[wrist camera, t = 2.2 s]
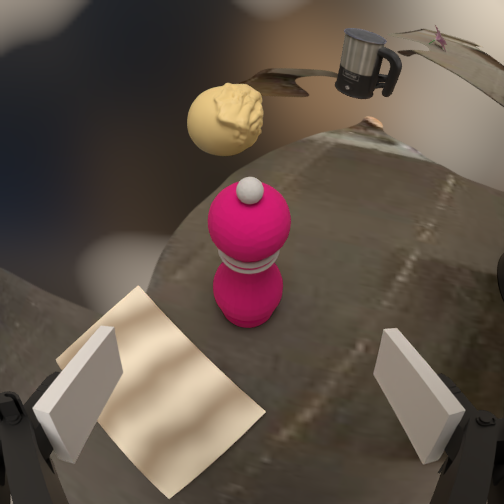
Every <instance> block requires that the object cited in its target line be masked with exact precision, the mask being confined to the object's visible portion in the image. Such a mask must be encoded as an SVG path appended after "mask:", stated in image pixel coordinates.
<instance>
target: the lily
mask: <svg viewBox="0 0 504 504" xmlns="http://www.w3.org/2000/svg"><path fill="white" fill-rule="evenodd" d="M435 26H436V25H435ZM436 29H437V33H438V34H437V33H435V34H436V39H435V40H437V41H438V42H439V43H441V45H442V47H444V45H447V43H446V41H445V40H444V38H443V37H441V34H440V31H439V30H438V28H437V27H436ZM435 40H433V41H435ZM433 41H432V42H433ZM432 42H430V43H432ZM430 43H429V44H430ZM444 49H445V47H444ZM445 52H446V50H445Z"/></svg>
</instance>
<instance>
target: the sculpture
mask: <svg viewBox="0 0 504 504" xmlns="http://www.w3.org/2000/svg"><path fill="white" fill-rule="evenodd" d="M261 103H262V97H261V94H260V93H259V92H258V91H255V90H254V89H253V88H252V87H250V86H248V85H246V84H234V85H233V84H230V83H226V84H225V85H224V86H220V87H215V88H211V89H209V90H207V91H205V92H203V93H202V94H200V95H199V96H198V97H197V98H196V99H195V101H194V102H193V104H192V106H191V108H190V110H189V114H188V121H187V125H188V131H189V135H190V137H191V139H192V140H193V142H194V143H195V145H196V146H197V147H198V148H200V149H201V150H202V151H204V152H206V153H209V154H212V155H216V156H233V155H236V154H239V153H241V152H243V151H244V150H246V149H247V148H249V147H251V146H253V144H254V143H255V142H256V141H257V139H258V136H259V135H260V134H261V132H262V131H261V129H260V128H261V127H262V126H263V120H262V119H263V110H262V105H261Z"/></svg>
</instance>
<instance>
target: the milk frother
mask: <svg viewBox="0 0 504 504" xmlns="http://www.w3.org/2000/svg"><path fill="white" fill-rule="evenodd" d="M344 32H345V40H344V45H343V51H342V57H341V63H340V69H339V73H338V77H337V81H336V82H335V87H336V88H337V90H338V91H340V92H341V93H343V94H345V95H347V96H350V97H353V98H358V99H368V98H371V97H372V96H373V91H374V90H375V89H376V88H383V91H382V95H383V96H385V97H389V96H390V95H391V94H392V92H393V90H394V87H395V85H396V83H397V80H398V77H399V75H400V72H401V69H402V63H401V60H400V58H399V56H398V55H397V54H396V53H395V52H394V51H392V50H390V49H388V48H386V47H384V44H385V43H386V42H387V41H386V40H385V39H384V38H383V37H381V36H379V35H377V34H375V33H372V32H369V31H366V30H361V29H355V28H348V29H345V30H344ZM383 58H385V59H387V60H388V61H389V62H390V70H389V73H388V75H383V74H379V71H380V67H381V63H382V59H383ZM379 82H385V83H379Z"/></svg>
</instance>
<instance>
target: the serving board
mask: <svg viewBox="0 0 504 504" xmlns="http://www.w3.org/2000/svg"><path fill="white" fill-rule="evenodd" d="M100 326H110V327H114V328H115V334H116V339H117V344H118V350H119V354H120V359H121V364H122V368H123V374H122V376H121V378H120V380H119V381H118V383H117V385H116V387H115V388H114V390H113V392H112V394H111V396H110V398H109V399H108V401H107V403H106V405H105V407H104V408H103V410H102V412H101V414H100V416H99V418H98V420H97V421H98V422H99V424H100V425H101V426H102V427H103V429H104V430H105V431H106V432H107V434H108V435H109V436H110V437H111V438H112V440H113V441H114V442H115V443H116V444H117V446H118V447H119V448H120V449H121V450H122V451H123V452H124V454H125V455H126V456H127V457H128V458H129V459H130V460H131V461H132V462H133V464H134V465H135V466H136V467H137V468H138V469H139V470H140V471H141V472H142V473H143V474H144V475H145V476H146V477H147V478H148V479H149V480H150V481H151V482H152V483H153V484H154V485H155V486H156V487H157V488H158V489H159V490H160V491H161V492H162V493H163V494H164V495H165V496H166V497H167V498H168V499H170V498H171V497H172V496H174V495H175V494H176V493H177V492H179V491H180V490H181V489H182V488H184V487H185V486H186V485H187V484H188V483H190V482H191V481H192V480H193V479H194V478H196V477H197V476H198V475H199V474H200V473H201V472H203V471H204V470H205V469H206V468H207V467H208V466H209V465H211V464H212V463H213V462H214V461H215V460H216V459H217V458H218V457H219V456H221V455H222V454H223V453H224V452H225V451H226V450H227V449H228V448H229V447H230V446H231V445H232V444H234V443H235V442H236V441H237V440H238V439H239V438H240V437H241V436H242V435H243V434H244V433H245V432H246V431H247V430H248V429H249V428H250V427H251V426H252V425H253V424H254V423H255V422H256V421H257V420H258V419H259V418H260V417H261V416H262V415H263V414H264V413H265V412H266V411H265V410H264V409H262V408H261V407H260V406H259V405H258V404H257V403H255V402H254V401H253V400H252V399H251V398H250V397H249V396H248V395H246V394H245V393H244V392H243V391H242V390H241V389H240V388H239V387H238V386H237V385H235V384H234V383H233V382H232V381H231V380H230V379H229V378H228V377H227V376H226V375H225V374H224V373H223V372H221V371H220V370H219V369H218V368H217V367H216V366H215V365H214V364H213V363H212V362H211V361H210V360H209V359H208V358H207V357H206V356H205V355H204V354H203V353H202V352H201V351H200V350H199V349H198V348H197V347H196V346H195V345H194V344H193V343H192V342H191V341H190V340H189V339H188V338H187V337H186V336H185V335H184V334H183V333H182V332H181V331H180V330H179V329H178V328H177V327H176V326H175V325H174V324H173V323H172V322H171V320H170V319H169V318H168V317H167V316H166V315H165V314H164V313H163V312H162V311H161V310H160V309H159V308H158V307H157V305H156V304H155V303H154V302H153V301H152V300H151V299H150V298H149V297H148V295H147V294H146V293H145V292H144V291H143V290H142V289H141V288H140V286H137V287H136V288H135V289H133V290H132V291H131V292H130V293H129V294H128V295H126V297H124V298H123V299H122V300H121V301H120V302H119V303H117V304H116V305H115V306H114V307H113V308H112V309H111V310H110V311H108V312H107V313H106V314H105V315H104V316H103V317H102V318H101V319H99V320H98V321H97V322H96V323H95V324H94V325H93V326H92V327H91V328H90V329H88V330H87V331H86V332H85V333H84V334H83V335H82V336H81V337H80V338H79V339H78V340H76V341H75V342H74V343H73V344H72V345H71V346H70V347H69V348H68V349H67V350H66V351H65V352H64V353H63V354H61V355H60V356H59V357H58V358H57V359H56V361H57V363H58V365H59V366H60V368H61V370H62V371H63V369H64V368H65V367H66V366H67V364H68V363H69V362H70V361H71V360H72V358H73V357H74V356H75V355H76V354H77V353H78V351H79V350H80V349H81V348H82V347H83V345H84V344H85V343H86V342H87V341H88V340H89V338H90V337H91V336H92V335H93V334H94V333H95V332H96V330H97V329H98V328H99V327H100Z"/></svg>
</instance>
